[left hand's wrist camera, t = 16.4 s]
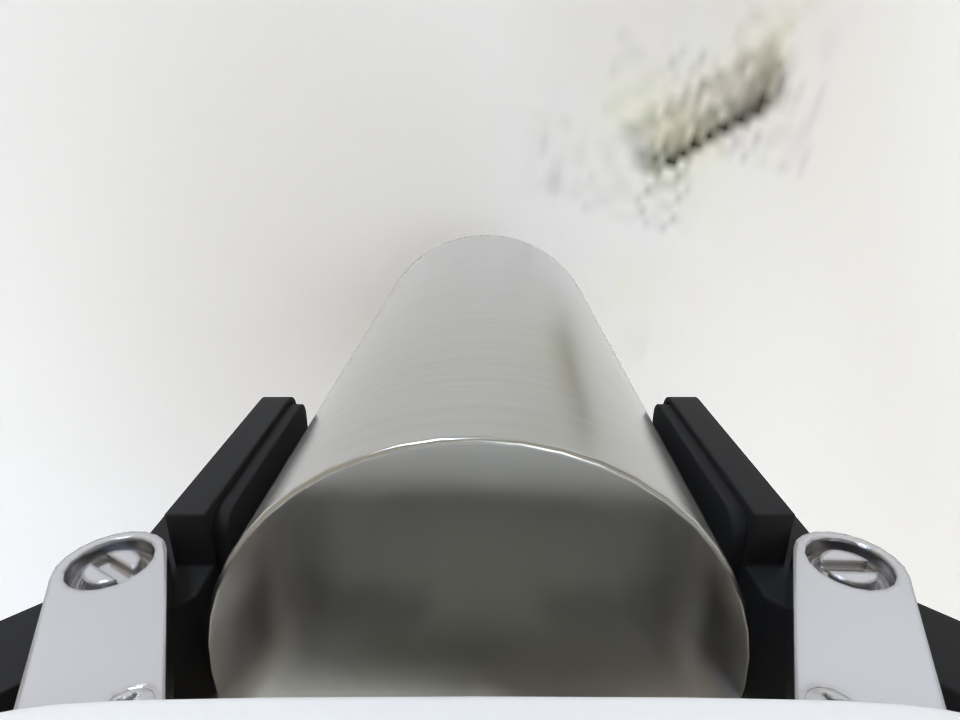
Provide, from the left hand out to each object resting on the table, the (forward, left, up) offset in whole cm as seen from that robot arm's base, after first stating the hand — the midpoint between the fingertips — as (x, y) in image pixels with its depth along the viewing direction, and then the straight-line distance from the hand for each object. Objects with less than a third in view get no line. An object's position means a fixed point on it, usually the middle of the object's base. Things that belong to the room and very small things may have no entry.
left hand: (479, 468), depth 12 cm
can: (0, 0, -8) cm, 8 cm away
